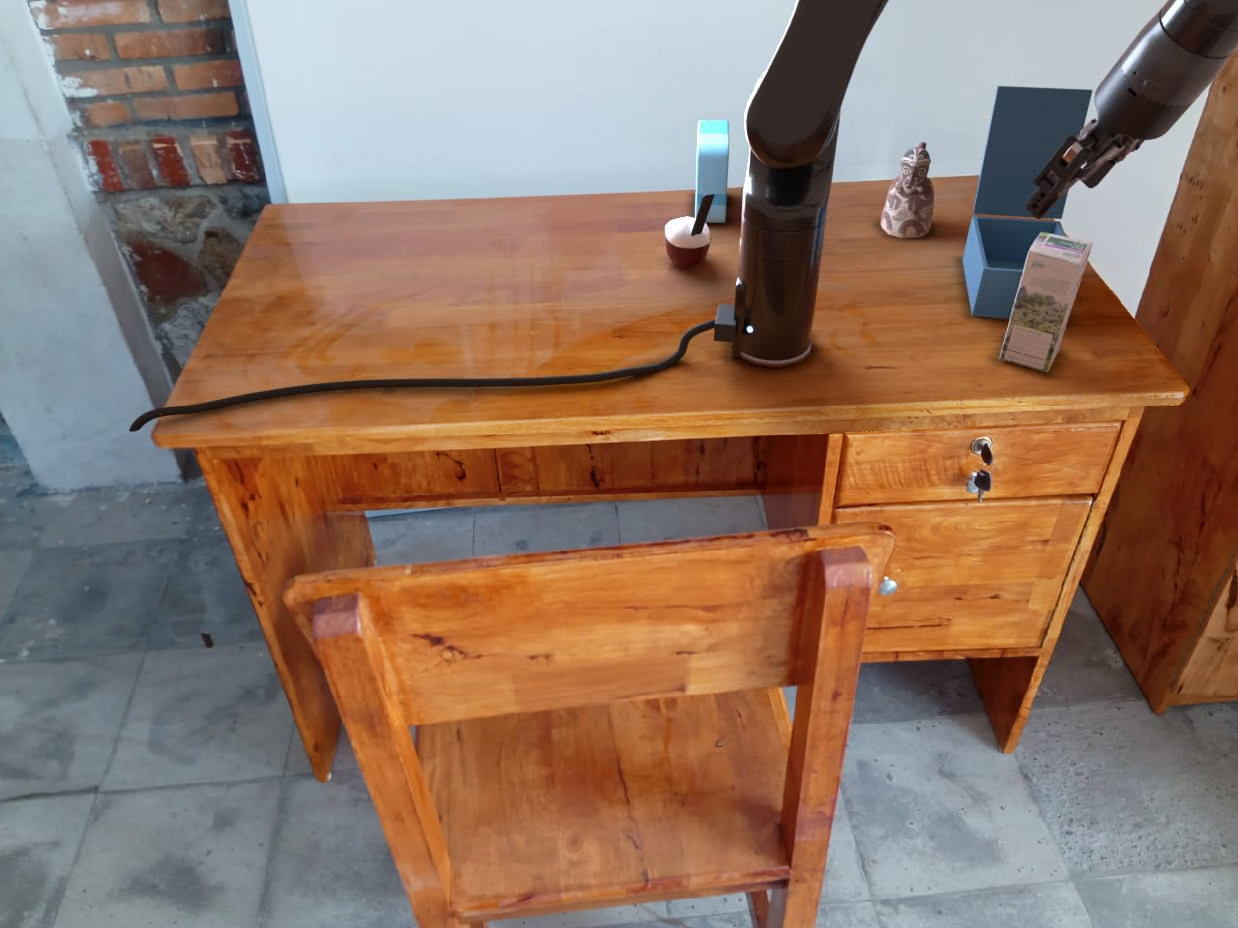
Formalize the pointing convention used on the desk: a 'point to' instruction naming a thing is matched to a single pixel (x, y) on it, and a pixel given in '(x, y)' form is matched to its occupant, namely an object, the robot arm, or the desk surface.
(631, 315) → the desk surface
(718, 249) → the desk surface
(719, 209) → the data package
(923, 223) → the figurine
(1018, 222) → the box
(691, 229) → the ice cream cup
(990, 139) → the lunchbox lid
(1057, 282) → the syrup box
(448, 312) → the desk surface
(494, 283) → the desk surface
